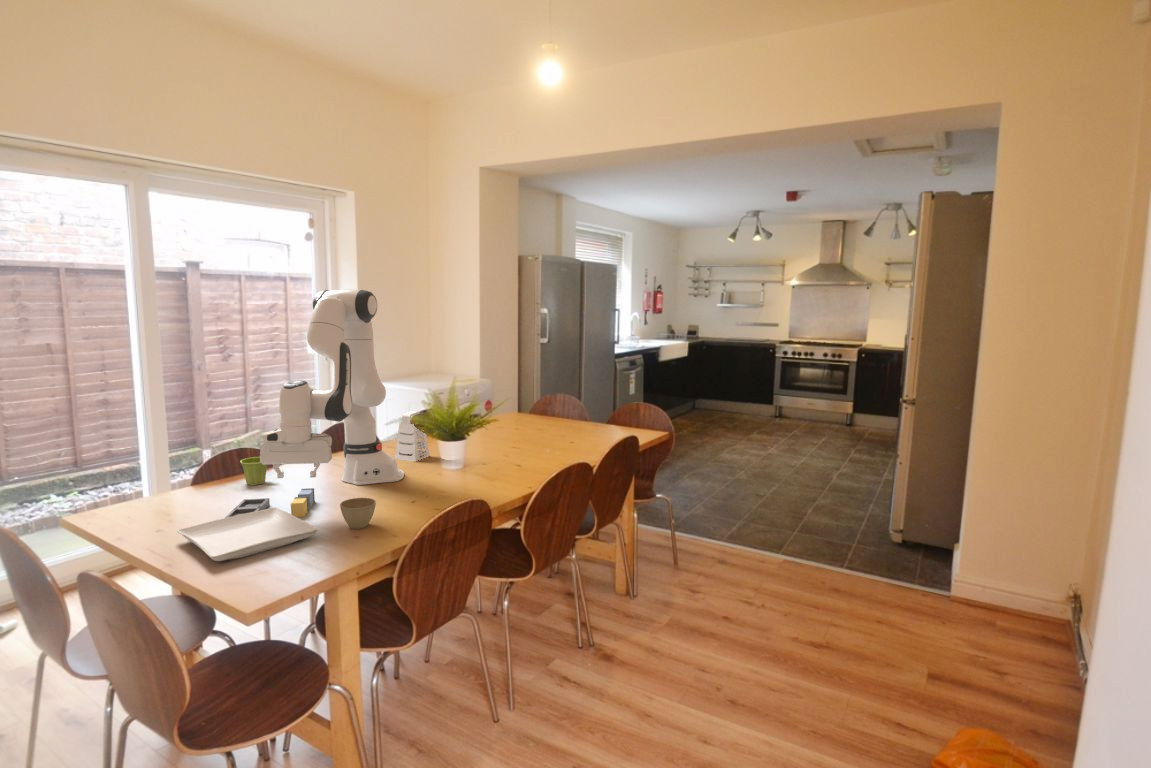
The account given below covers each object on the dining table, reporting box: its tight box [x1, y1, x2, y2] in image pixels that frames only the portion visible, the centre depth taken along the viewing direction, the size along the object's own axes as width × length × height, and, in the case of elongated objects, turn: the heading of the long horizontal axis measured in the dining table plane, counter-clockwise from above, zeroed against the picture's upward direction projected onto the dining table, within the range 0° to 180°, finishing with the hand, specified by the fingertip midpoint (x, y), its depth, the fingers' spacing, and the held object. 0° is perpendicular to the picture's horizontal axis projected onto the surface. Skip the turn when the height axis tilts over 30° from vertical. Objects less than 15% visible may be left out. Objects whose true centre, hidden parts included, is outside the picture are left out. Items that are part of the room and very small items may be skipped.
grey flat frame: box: [224, 497, 270, 518], centre depth 187 cm, size 8×18×2 cm, turn 12°
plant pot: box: [239, 456, 268, 486], centre depth 220 cm, size 9×9×9 cm
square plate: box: [177, 507, 319, 562], centre depth 166 cm, size 27×27×4 cm
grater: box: [394, 410, 431, 463], centre depth 258 cm, size 10×10×20 cm
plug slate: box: [297, 487, 316, 509], centre depth 197 cm, size 4×6×5 cm, turn 12°
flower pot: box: [339, 497, 377, 530], centre depth 178 cm, size 10×10×7 cm
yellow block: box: [290, 496, 310, 518], centre depth 188 cm, size 4×6×5 cm, turn 12°
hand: (297, 477), depth 186 cm, fingers open, 8 cm apart
